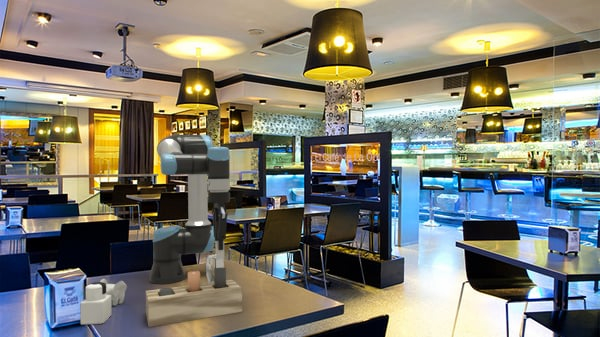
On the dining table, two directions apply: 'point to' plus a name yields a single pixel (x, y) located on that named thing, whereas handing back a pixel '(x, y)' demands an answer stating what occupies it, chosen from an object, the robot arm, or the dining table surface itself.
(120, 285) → the elephant figurine
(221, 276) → the black plug far
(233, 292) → the socket block
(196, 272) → the terracotta plug
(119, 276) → the dining table surface
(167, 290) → the black plug near
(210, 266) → the beer glass
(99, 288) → the medicine bottle
